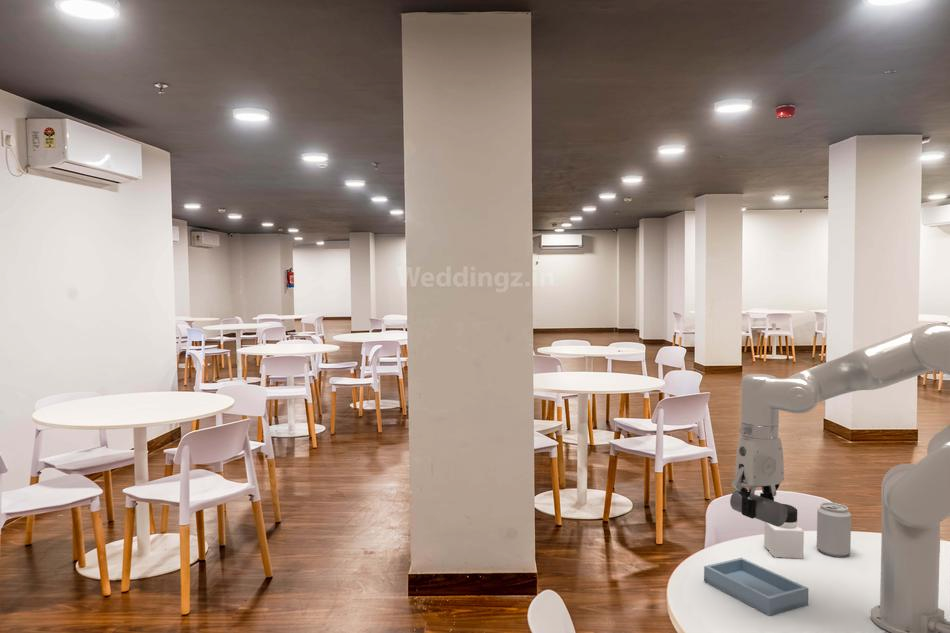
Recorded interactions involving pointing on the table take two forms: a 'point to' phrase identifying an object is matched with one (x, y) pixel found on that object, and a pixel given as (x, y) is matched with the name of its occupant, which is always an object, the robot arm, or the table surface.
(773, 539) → the medicine bottle
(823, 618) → the table surface
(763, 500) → the cylinder
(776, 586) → the trough
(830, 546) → the can
